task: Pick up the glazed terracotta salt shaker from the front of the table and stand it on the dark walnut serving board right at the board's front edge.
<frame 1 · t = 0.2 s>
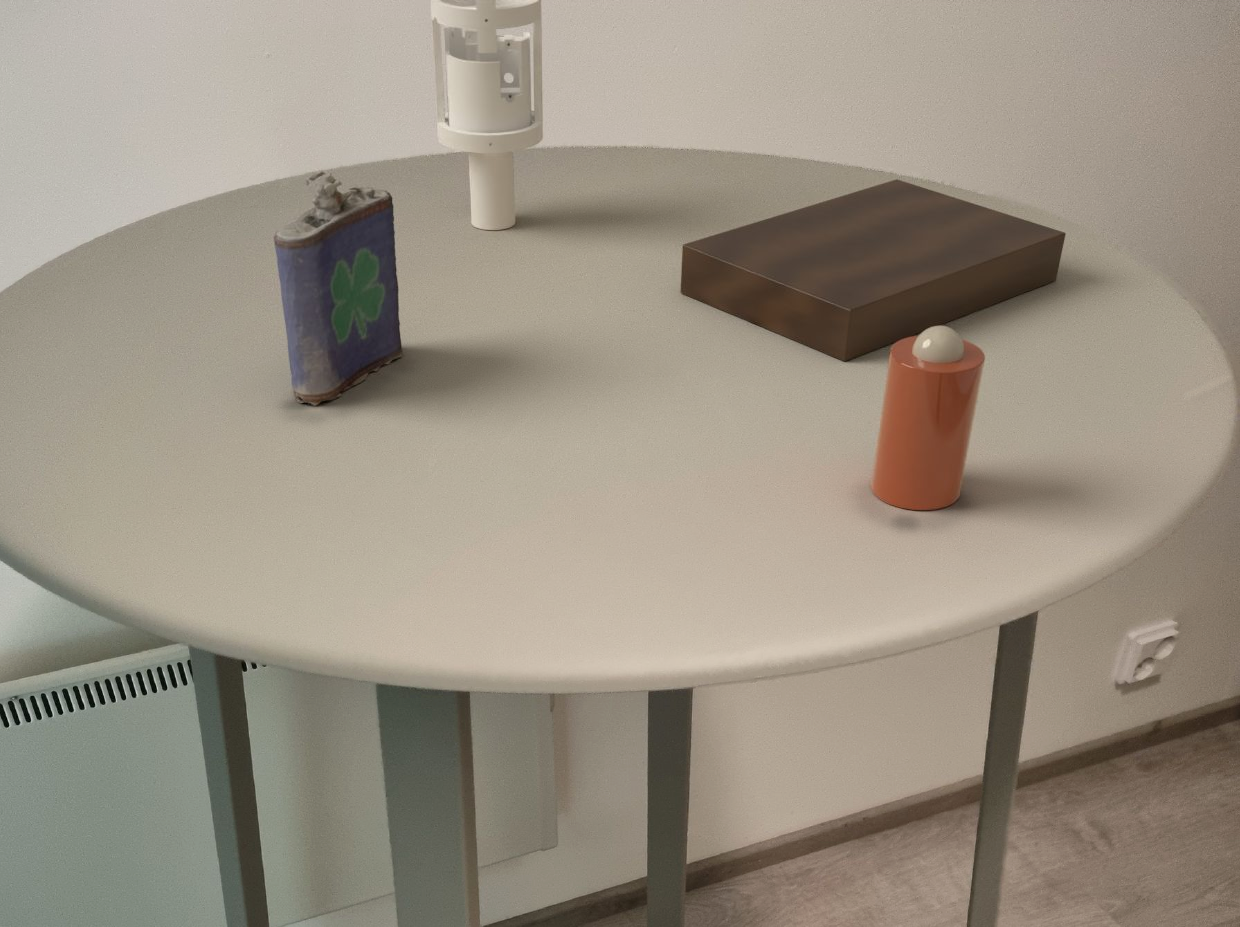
shaker: (915, 490, 76), on the table
flask: (348, 377, 86), on the table
white cylindrical fitting: (493, 225, 105), on the table
board: (869, 287, 96), on the table
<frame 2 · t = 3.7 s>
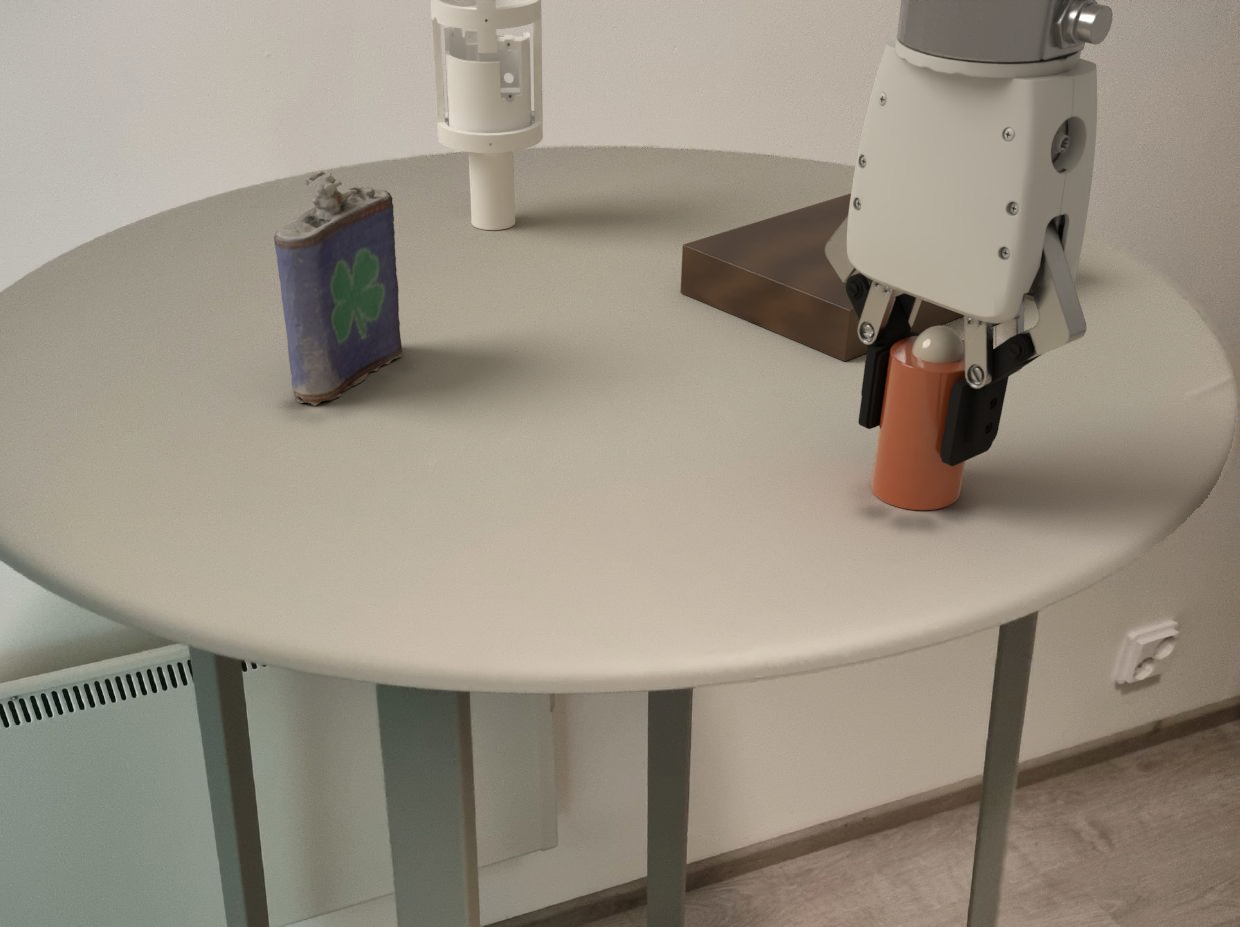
hand: (924, 434, 74), 3 cm above the table, tool pointing down, fingers closed on shaker, 4 cm apart
shaker: (915, 489, 76), on the table, touching gripper
everything else where it was.
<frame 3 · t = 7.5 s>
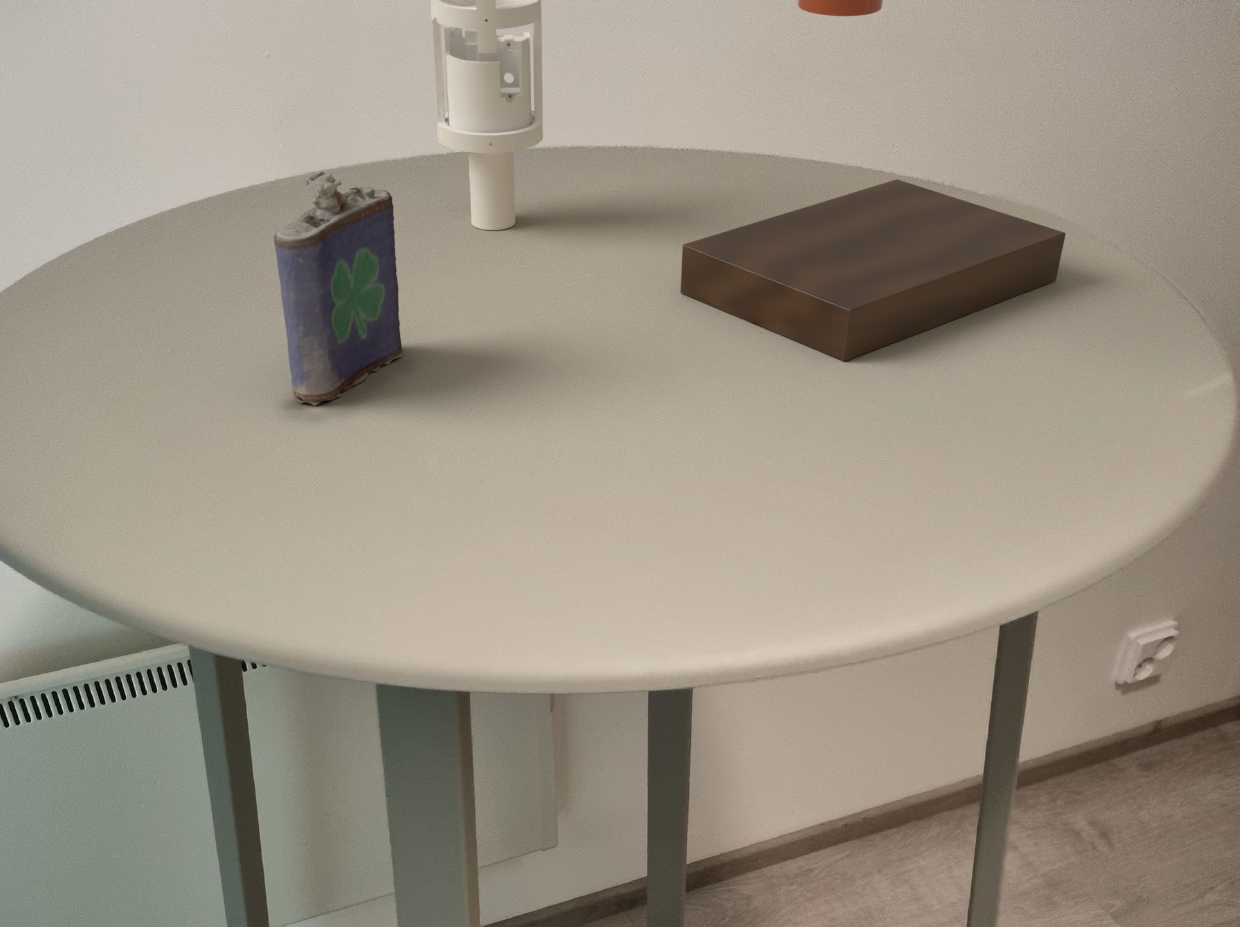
shaker: (839, 7, 79), point 17 cm above the table, touching gripper
everything else where it was.
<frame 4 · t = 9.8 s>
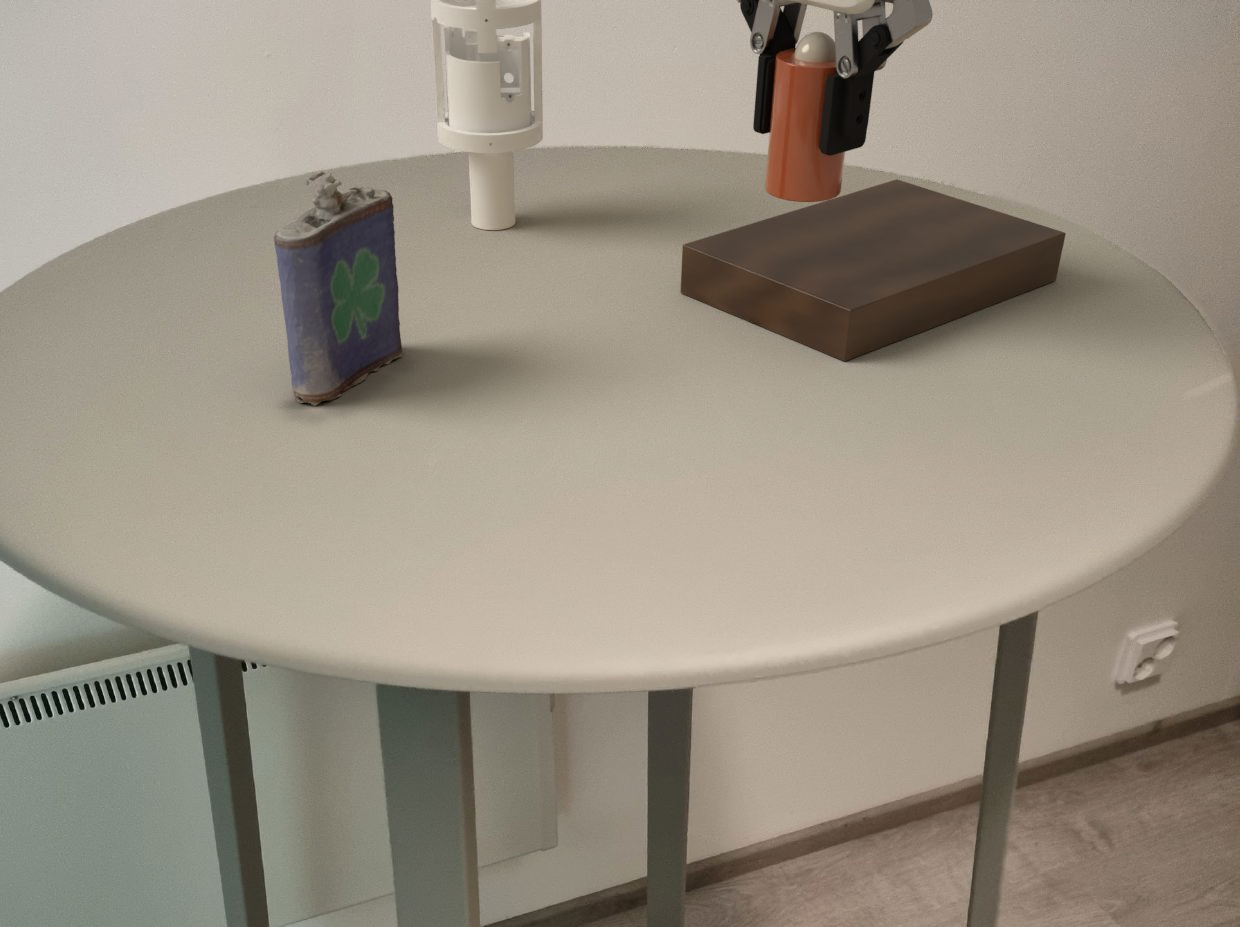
hand: (808, 136, 86), 10 cm above the table, tool pointing down, fingers closed on shaker, 4 cm apart
shaker: (802, 190, 88), point 7 cm above the table, touching gripper
everything else where it was.
when the fingers open (6 cm above the table, at t = 11.2 s): shaker stays where it is, resting on board.
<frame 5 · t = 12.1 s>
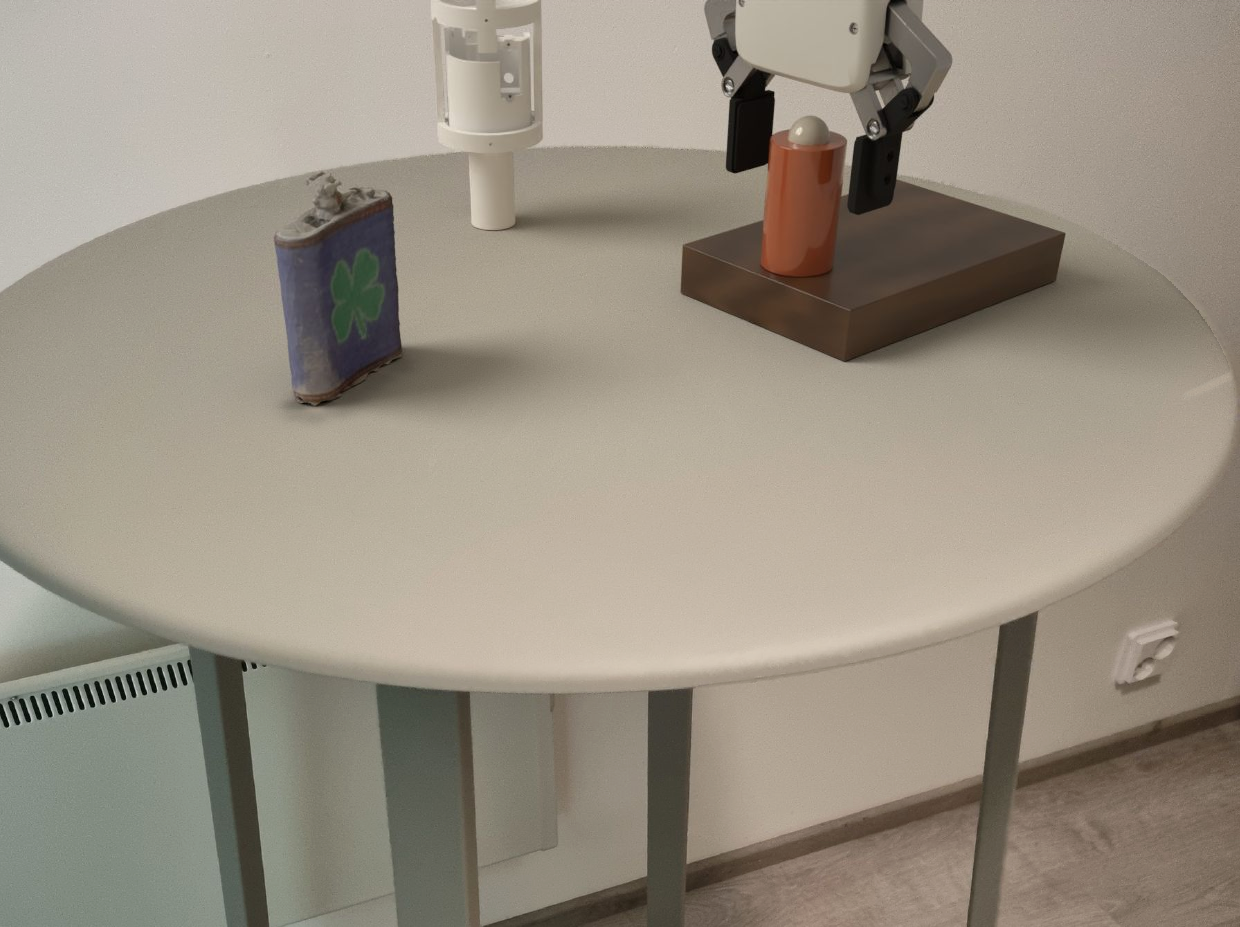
hand: (806, 188, 88), 7 cm above the table, tool pointing down, fingers open, 9 cm apart
shaker: (796, 264, 91), point 3 cm above the table, touching board
everything else where it was.
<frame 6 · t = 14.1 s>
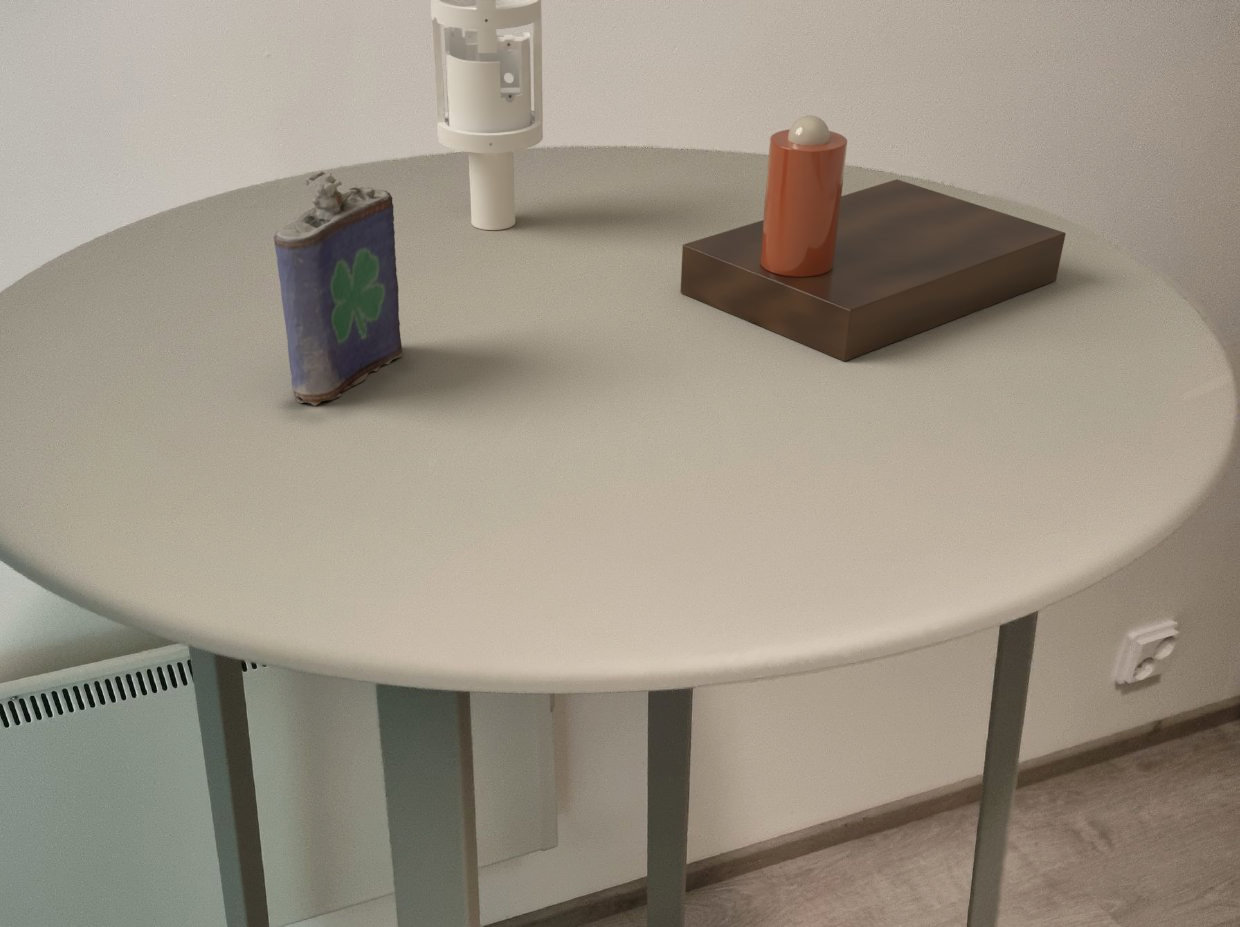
nothing on the table moved.
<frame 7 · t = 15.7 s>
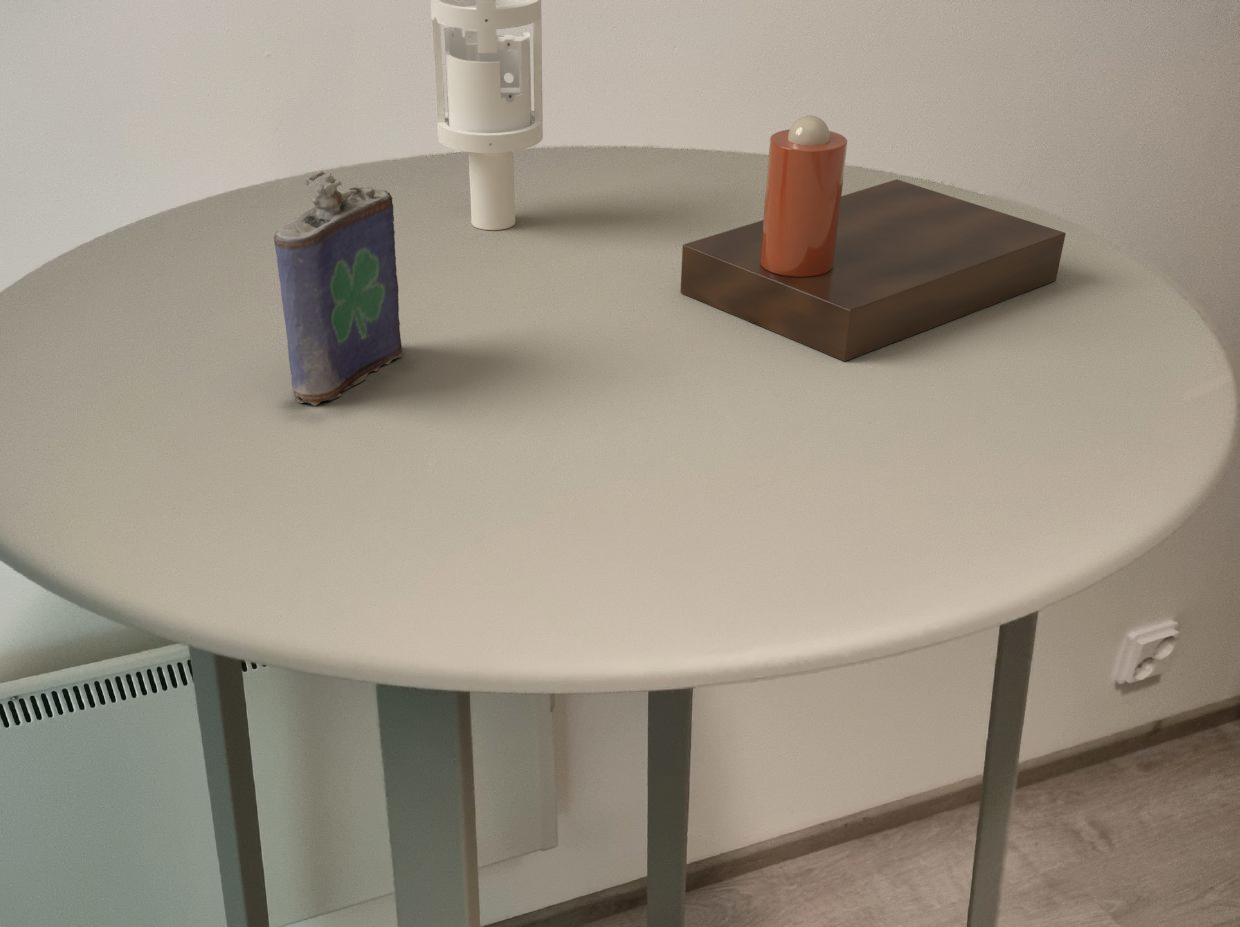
nothing on the table moved.
at the end: shaker 0.1 cm from the target spot on the board, point 3.0 cm above the board's base; shaker tilted 0°; the gripper is holding nothing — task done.
